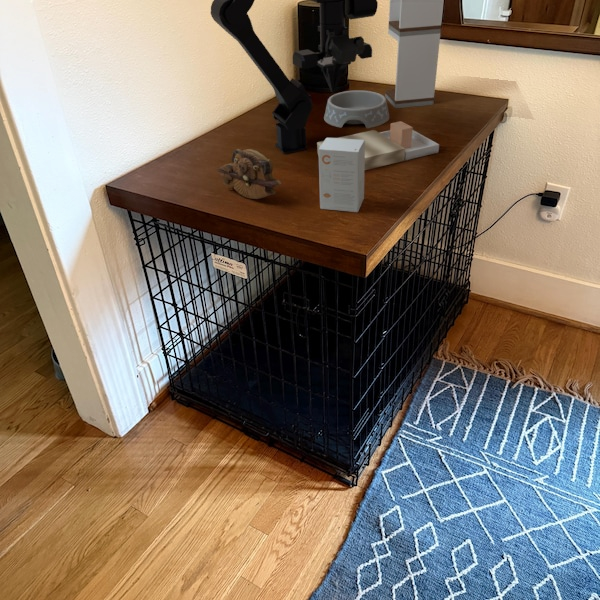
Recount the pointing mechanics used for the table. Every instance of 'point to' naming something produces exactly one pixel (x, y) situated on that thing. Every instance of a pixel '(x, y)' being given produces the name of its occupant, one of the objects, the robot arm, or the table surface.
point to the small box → (341, 174)
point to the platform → (377, 149)
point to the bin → (417, 145)
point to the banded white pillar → (415, 50)
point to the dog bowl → (356, 109)
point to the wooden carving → (249, 174)
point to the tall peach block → (401, 134)
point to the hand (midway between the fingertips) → (333, 91)
